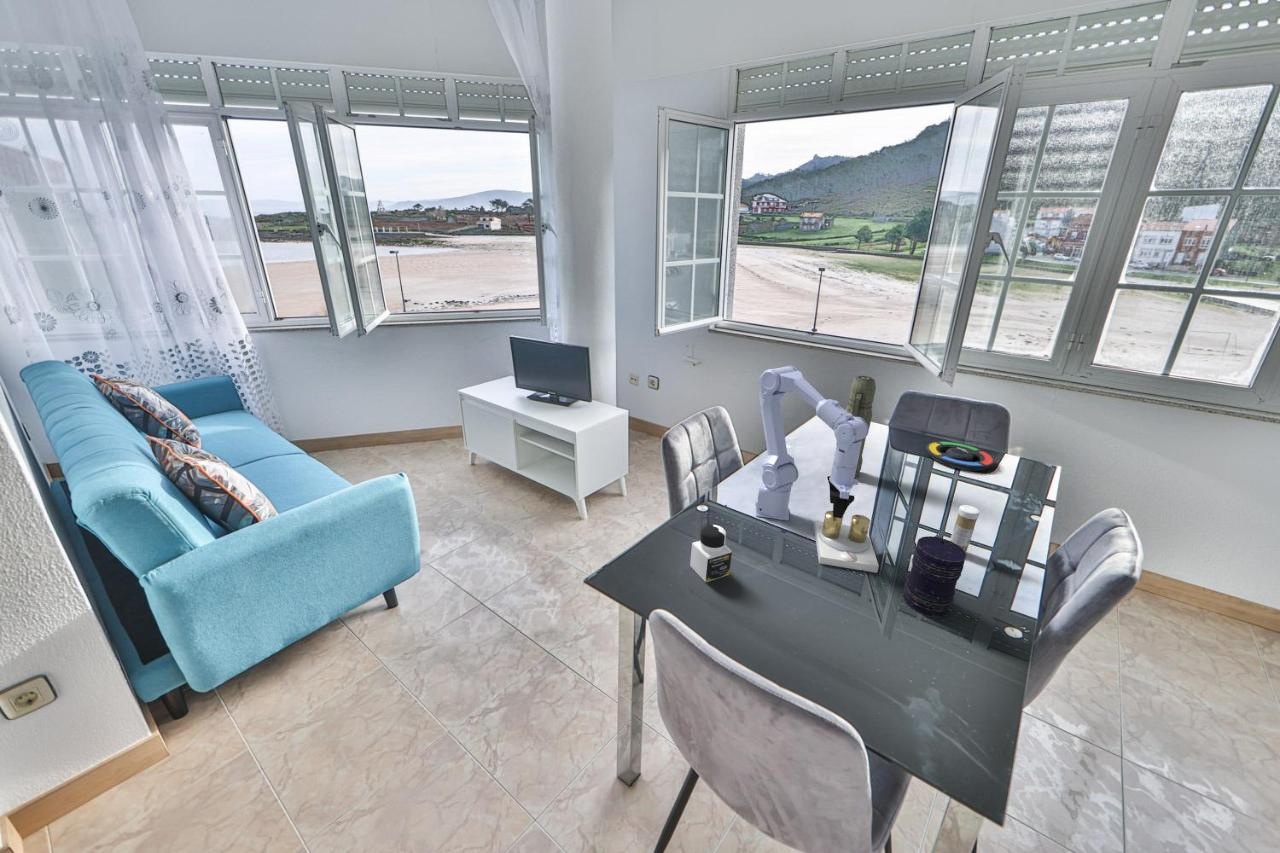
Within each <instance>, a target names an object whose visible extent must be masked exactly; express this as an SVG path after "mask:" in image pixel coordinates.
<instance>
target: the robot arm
mask: <svg viewBox="0 0 1280 853" xmlns="http://www.w3.org/2000/svg"><path fill="white" fill-rule="evenodd" d="M758 383H759V395H758V399H759V400H758V401H759V407H760V412H761V419H762V426H763V431H764V438H765V443H766V445H765V446H766V450H767V451H766V452H767V457H766V459H765V460H764V462H763V463H762V473H761V479H762V482H763V483H762V482H759V483H758V490H757V498H756V500H755V516H756V517H760V518H768V519H775V520H781V521H789V520H790V517H789V514H790V513H789V504H790V497H791V491H792V487H793V486H794V482H796V481H797V480H798V479H799V477H800V476H799V475H800V474H799V470H798V467H797V465H796V463H795V458H794V457H793V456H792V455H790V454H788V449H787V442H786V436H785V429H784V423H783V415H782V410H781V404H780V403H781V402H780V401H781V399H782V398H783V397H784V395H785V394H786V393H794V394H796V395H797V396H798V397H800V398H801V399H802V400H803V401H805V402H806V403H807V404H809V405H810V406H812V407H813V408H814V409H815V411H816V412H815V415H816V416H817V418H819V419H820V420H821V421H822V422H823V423H825V425H827V427H829V428H830V429H831V430H832V431H833V434H834V437H835V440H836V441H835V442H836V444H835V445H836V447H835V452H834V457H833V462H832V468H831V471H830V472H831V474H830V475H828V476H827V477H826V478H827V482H828V484H829V485H828V486H829V503H830V504H832V511H833V517H835V518H842V517H843V518H844V515H845V513H846V511H847V509H848V508H849V506H850V505H851V504H853V502H854V501H855V500H856V498H855V495H852V494H850V493H851V490H852V488H853V487H854V486H858V485H859V480H858V479H857V478H855V473H856V468H857V463H858V459H859V454H860V449H861V444H862V439H864V438H865V437H866V438H867V436H868V434H869V432H870V428H868V425H867V423H866V422H865V421H864V419H863V418H860V417H854V416H853V415H852V414H851V413H848V412H847V411H846V410H845V409H844V408H843V407H842V406H841V404H840V402H839V401H838V399H837V400H836V399H835V400H834V399H831V398H829V399H826V398H824V396H823V395H822V394H821V393H819V392H818V391H817V389H815V388H814V387H813V386H812V385H811V384H810V383H809V382H808V381H807V380H806V379H805V378H804V376H803V373H802V372H801V371H799V370H798V369H797V368H796V367H795V366H793V365H786V366H782V367H777V368H769V369H766V370H764V371H763V372H762V373H761V375H760V376H759V378H758ZM859 440H861V441H859ZM854 478H855V479H854Z"/></svg>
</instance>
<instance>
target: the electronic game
mask: <svg viewBox="0 0 1280 853" xmlns="http://www.w3.org/2000/svg"><path fill="white" fill-rule="evenodd" d="M939 450H947V451H945V452H943V451H939ZM925 452H926V454H927V455H928V456H930V457H931V458H932V459H933V460H934V459H935V460H936V461H935V460H934V461H935V462H937V461H938V462H937V463H939V462H940V463H939V464H941V463H942V464H941V465H943V464H944V466H946V467H950V468H952V467H953V469H956V468H957V469H958V470H961V469H962V471H968V470H970V471H969V472H979V470H980V471H984V470H989V469H991V468H993V467H994V465H995V462H996V460H995V458H994V457H993V456H992V455H991V454H989V453H988V452H987V451H984V450H982V449H980V448H978V447H975V446H972V445H968V444H965V443H960V442H954V441H944V440H942V441H939V440H938V441H932V442H930V443H928V444H927V445H926V447H925ZM976 458H977V459H976ZM974 459H976V460H978V459H979V460H980V461H979V460H978V461H973V460H974Z"/></svg>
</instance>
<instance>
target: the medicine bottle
mask: <svg viewBox="0 0 1280 853" xmlns="http://www.w3.org/2000/svg"><path fill="white" fill-rule="evenodd" d="M699 537H700V538H699V540H698V541H694V542H692V543H691V550H690V551H691V553H690V562H689V564H690V565H689V568H691V569H692V570H693V571H694V572H695V573H696V575H698V576H699V577H700V578H701V579H702V580H703V582H705V583H709V582H711V581H714V580H717V579H721V578H724V577H727V576H729V575H730V572H731V571H730V570H731V562H732V555H733V551H732V550H731V549H730V548H729V547H728V546H727V545H726V539H727V531H726V530H725V529H724V528H723V527H722V526H720V525H717V524H707V525H704V526H703V527H702V528H701V530H700V536H699Z"/></svg>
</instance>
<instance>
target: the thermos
mask: <svg viewBox="0 0 1280 853" xmlns="http://www.w3.org/2000/svg"><path fill="white" fill-rule="evenodd" d="M876 390H877V386H876V379H874V378H873V377H871V376H867V375H859V376H855V378H854V379H853V381H852V383H851V386H850V391H849V396H848V402H847V406H846V407H845V409H844V410H846V411H847V412H848V413H851V414H852V415H853V416H854V417H860V418H863V419H864V421H865V422H866V423H867V425H868V428H869V429H870V427H871V424H872V418H873V410H872V408H873V402H874V397H875V394H876ZM866 439H867V436H866V437H865V438H864V439H862V444H861V449H860V454H859V459H858V463H857V468H856V473H855V479H858V478H859V477H860V471H861V470H862V466H863V454H864V449H865V444H866ZM859 441H861V440H859ZM858 476H859V477H858ZM857 477H858V478H857Z"/></svg>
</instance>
